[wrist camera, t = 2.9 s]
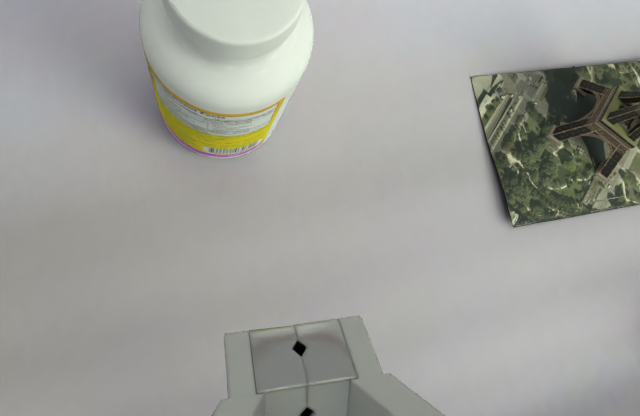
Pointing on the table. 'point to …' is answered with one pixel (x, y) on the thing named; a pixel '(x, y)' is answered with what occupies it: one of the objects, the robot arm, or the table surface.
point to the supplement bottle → (225, 67)
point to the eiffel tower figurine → (564, 139)
